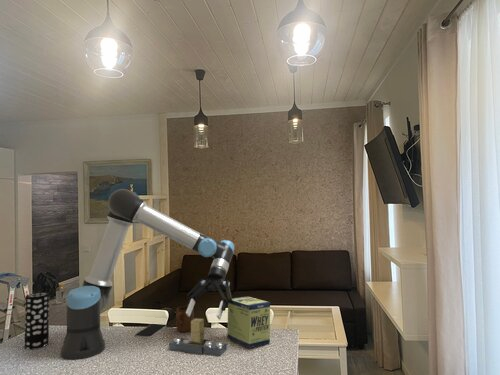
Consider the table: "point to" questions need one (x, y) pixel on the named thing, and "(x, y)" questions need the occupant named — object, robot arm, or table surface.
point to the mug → (184, 319)
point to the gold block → (197, 331)
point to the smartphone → (150, 330)
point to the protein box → (249, 321)
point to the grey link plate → (198, 347)
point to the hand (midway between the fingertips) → (202, 316)
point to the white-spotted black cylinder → (36, 320)
